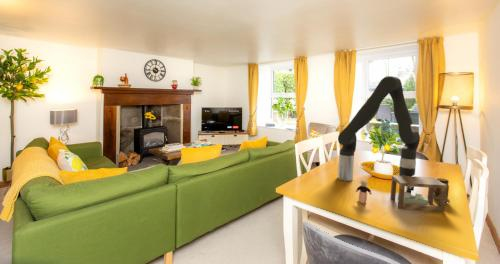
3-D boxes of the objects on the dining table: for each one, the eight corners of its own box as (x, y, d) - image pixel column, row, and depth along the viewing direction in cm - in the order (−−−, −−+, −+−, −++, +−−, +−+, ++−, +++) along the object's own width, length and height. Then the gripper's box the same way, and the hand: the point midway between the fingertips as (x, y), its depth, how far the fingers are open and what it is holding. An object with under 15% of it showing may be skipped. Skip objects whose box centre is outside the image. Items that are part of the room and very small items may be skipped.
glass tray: (402, 203, 129) (402, 194, 128) (397, 199, 135) (398, 190, 134) (427, 205, 127) (428, 196, 126) (421, 200, 133) (422, 191, 132)
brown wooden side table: (398, 208, 124) (401, 182, 122) (390, 199, 135) (392, 175, 133) (443, 212, 120) (446, 185, 118) (431, 201, 131) (433, 177, 130)
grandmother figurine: (354, 203, 130) (356, 180, 129) (355, 200, 134) (356, 177, 132) (371, 205, 127) (372, 182, 126) (370, 202, 131) (372, 179, 129)
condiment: (431, 201, 132) (433, 179, 131) (432, 196, 139) (435, 176, 137) (448, 205, 128) (451, 182, 126) (449, 199, 134) (451, 178, 132)
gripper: (395, 162, 145) (393, 188, 147) (405, 169, 131) (402, 198, 133) (409, 163, 144) (407, 189, 146) (421, 170, 130) (418, 199, 132)
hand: (405, 193), depth 140 cm, fingers open, 8 cm apart
